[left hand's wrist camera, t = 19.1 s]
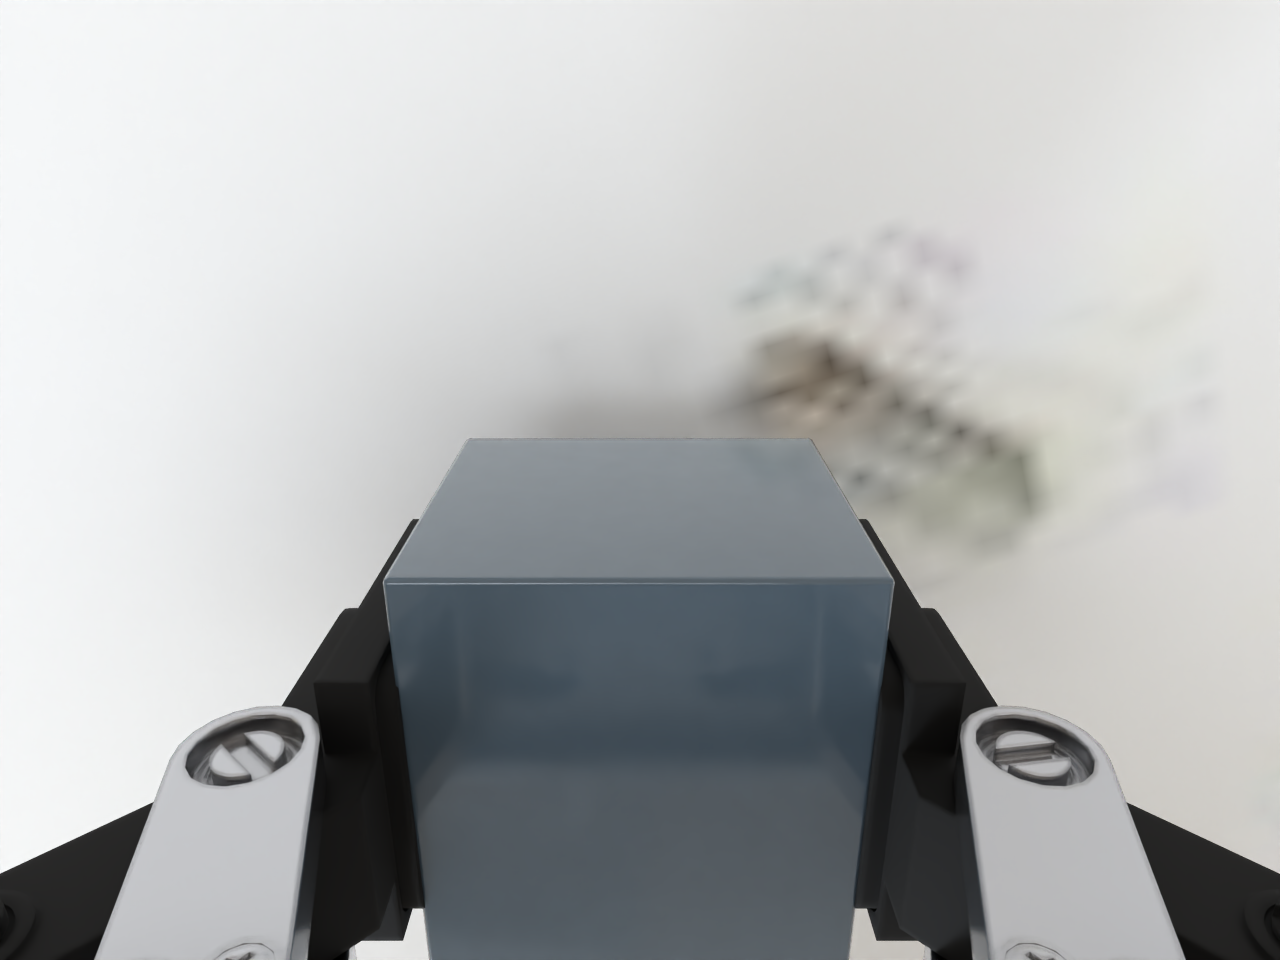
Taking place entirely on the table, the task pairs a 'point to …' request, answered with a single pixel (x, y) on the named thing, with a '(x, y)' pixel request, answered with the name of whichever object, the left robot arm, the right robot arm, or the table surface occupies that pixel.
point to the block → (639, 699)
